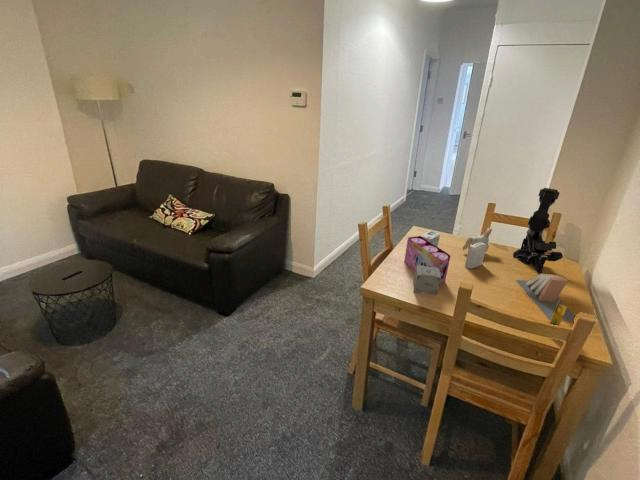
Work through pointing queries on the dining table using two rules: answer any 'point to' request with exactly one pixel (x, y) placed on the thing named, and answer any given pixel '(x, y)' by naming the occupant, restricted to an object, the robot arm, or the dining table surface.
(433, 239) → the light bulb box
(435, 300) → the dining table surface
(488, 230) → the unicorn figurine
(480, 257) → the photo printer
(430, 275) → the grey cardboard box
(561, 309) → the crayon box
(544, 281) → the domino
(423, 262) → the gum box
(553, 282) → the domino
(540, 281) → the domino
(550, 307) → the mat
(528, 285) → the domino
